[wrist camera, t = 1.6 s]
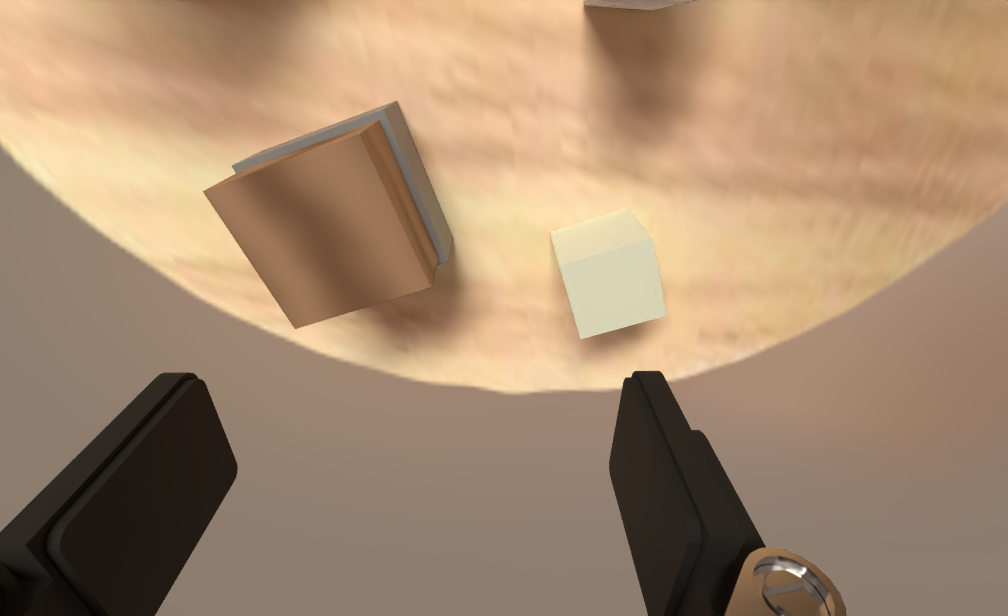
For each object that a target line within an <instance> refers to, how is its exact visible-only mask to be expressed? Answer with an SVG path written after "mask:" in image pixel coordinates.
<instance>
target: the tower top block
mask: <svg viewBox="0 0 1008 616" xmlns="http://www.w3.org/2000/svg"><path fill="white" fill-rule="evenodd" d="M203 193H204V194H205V196H206V197H207V198H208V200H209V201H210V203H211V204H212V206H213V207H214V209H215V210H216V212H217V213H218V215H219V216H220V218H221V219H222V221H223V222H224V224H225V225H226V227H227V228H228V230H229V231H230V233H231V234H232V236H233V237H234V239H235V240H236V242H237V243H238V245H239V246H240V248H241V249H242V251H243V252H244V254H245V255H246V257H247V258H248V260H249V261H250V263H251V264H252V266H253V267H254V269H255V270H256V272H257V273H258V275H259V276H260V277H261V279H262V280H263V282H264V283H265V285H266V286H267V288H268V289H269V291H270V292H271V294H272V295H273V297H274V298H275V300H276V301H277V303H278V304H279V306H280V307H281V309H282V310H283V312H284V313H285V315H286V316H287V318H288V319H289V321H290V322H291V324H292V325H293V327H294V328H295V329H297V328H300V327H303V326H307V325H310V324H313V323H316V322H320V321H323V320H326V319H329V318H333V317H336V316H339V315H343V314H346V313H349V312H352V311H356V310H359V309H362V308H365V307H369V306H372V305H375V304H378V303H382V302H385V301H388V300H391V299H395V298H398V297H401V296H404V295H408V294H411V293H414V292H417V291H421V290H424V289H427V288H430V287H431V285H432V281H433V277H434V273H435V269H436V265H437V261H438V257H439V255H438V253H437V251H436V248H435V246H434V244H433V241H432V239H431V237H430V235H429V232H428V230H427V228H426V225H425V223H424V221H423V219H422V216H421V214H420V212H419V209H418V207H417V205H416V203H415V200H414V198H413V196H412V193H411V191H410V189H409V187H408V184H407V182H406V180H405V177H404V175H403V173H402V171H401V168H400V166H399V164H398V161H397V159H396V157H395V155H394V152H393V150H392V148H391V145H390V143H389V141H388V139H387V136H386V134H385V132H384V129H383V127H382V125H381V123H380V120H377V121H374V122H372V123H369V124H366V125H364V126H361V127H358V128H356V129H353V130H350V131H347V132H345V133H342V134H339V135H337V136H334V137H331V138H328V139H326V140H323V141H320V142H318V143H315V144H312V145H309V146H307V147H304V148H301V149H299V150H296V151H293V152H291V153H288V154H285V155H282V156H280V157H277V158H274V159H272V160H269V161H266V162H263V163H261V164H258V165H255V166H253V167H250V168H247V169H245V170H242V171H240V172H239V173H237V174H235V175H233V176H231V177H229V178H227V179H225V180H223V181H222V182H220V183H218V184H216V185H214V186H212V187H210V188H208V189H206V190H205V191H203Z"/></svg>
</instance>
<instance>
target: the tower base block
mask: <svg viewBox="0 0 1008 616" xmlns="http://www.w3.org/2000/svg"><path fill="white" fill-rule="evenodd" d="M377 120H380V123H381V125H382V127H383V129H384V132H385V134H386V136H387V139H388V141H389V143H390V145H391V148H392V150H393V152H394V155H395V157H396V159H397V161H398V164H399V166H400V168H401V171H402V173H403V175H404V177H405V180H406V182H407V184H408V187H409V189H410V191H411V193H412V196H413V198H414V200H415V203H416V205H417V207H418V209H419V212H420V214H421V216H422V219H423V221H424V223H425V225H426V228H427V230H428V232H429V235H430V237H431V239H432V241H433V244H434V246H435V248H436V251H437V253H438V255H439V257H438V261H437V265H439V264H442V263H445V262H448V261H449V256H450V252H451V247H452V242H453V236H452V234H451V231H450V229H449V227H448V224H447V222H446V219H445V217H444V214H443V212H442V210H441V207H440V205H439V202H438V200H437V197H436V195H435V192H434V190H433V188H432V185H431V183H430V180H429V178H428V175H427V173H426V170H425V168H424V166H423V163H422V161H421V158H420V156H419V153H418V151H417V148H416V146H415V144H414V141H413V139H412V136H411V134H410V131H409V129H408V126H407V124H406V122H405V119H404V117H403V114H402V112H401V109H400V107H399V105H398V102H397V101H395V102H392V103H389V104H387V105H384V106H381V107H379V108H376V109H373V110H371V111H368V112H365V113H362V114H360V115H357V116H354V117H352V118H349V119H346V120H344V121H341V122H338V123H336V124H333V125H330V126H328V127H325V128H322V129H319V130H317V131H314V132H311V133H309V134H306V135H303V136H301V137H298V138H295V139H293V140H290V141H287V142H285V143H282V144H279V145H276V146H274V147H271V148H268V149H266V150H263V151H261V152H259V153H257V154H255V155H253V156H251V157H248V158H246V159H244V160H242V161H240V162H238V163H236V164H234V165H232V167H233V169H234V171H235V172H236V174H237V173H239V172H240V171H242V170H245V169H247V168H250V167H253V166H255V165H258V164H261V163H263V162H266V161H269V160H272V159H274V158H277V157H280V156H282V155H285V154H288V153H291V152H293V151H296V150H299V149H301V148H304V147H307V146H309V145H312V144H315V143H318V142H320V141H323V140H326V139H328V138H331V137H334V136H337V135H339V134H342V133H345V132H347V131H350V130H353V129H356V128H358V127H361V126H364V125H366V124H369V123H372V122H374V121H377Z"/></svg>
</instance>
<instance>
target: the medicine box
mask: <svg viewBox="0 0 1008 616" xmlns="http://www.w3.org/2000/svg"><path fill="white" fill-rule="evenodd" d="M693 1H698V0H584V1H583V4H584V5H587V6H599V7H614V8H626V9H641V10H656V9H660V8H664V7H669V6H673V5H678V4H683V3H688V2H693Z"/></svg>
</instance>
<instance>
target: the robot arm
mask: <svg viewBox="0 0 1008 616" xmlns="http://www.w3.org/2000/svg"><path fill="white" fill-rule="evenodd" d="M609 469H610V476H611V480H612V484H613V488H614V491H615V495H616V499H617V502H618V506H619V510H620V513H621V517H622V520H623V524H624V528H625V532H626V535H627V539H628V543H629V546H630V550H631V554H632V557H633V561H634V565H635V568H636V572H637V576H638V580H639V583H640V587H641V591H642V594H643V598H644V601H645V605H646V609H647V613H648V616H847V615H846V607H845V604H844V602H843V599H842V597H841V594H840V592H839V591H838V590H837V588H836V587H835V585H834V584H833V583H832V581H831V580H830V578H828V577H827V576H826V575H825V574H824V573H823V572H822V571H821V570H820V569H819V568H818V567H817V566H816V565H814V564H813V563H811V562H810V561H808V560H807V559H805V558H804V557H802V556H800V555H798V554H795V553H793V552H791V551H788V550H786V549H780V548H775V547H767V548H766V546H765V545H764V543H763V541H762V539H761V537H760V535H759V534H758V532H757V530H756V528H755V526H754V524H753V522H752V521H751V519H750V517H749V515H748V513H747V511H746V510H745V508H744V506H743V504H742V502H741V500H740V499H739V497H738V495H737V493H736V491H735V489H734V487H733V486H732V484H731V482H730V480H729V478H728V476H727V475H726V473H725V471H724V469H723V467H722V465H721V463H720V462H719V460H718V458H717V456H716V454H715V452H714V450H713V449H712V447H711V445H710V443H709V441H708V439H707V438H706V436H705V435H704V434H703V433H702V432H701V431H700V430H691V428H690V426H689V424H688V422H687V420H686V419H685V417H684V415H683V413H682V411H681V409H680V407H679V405H678V403H677V401H676V399H675V397H674V396H673V394H672V392H671V389H670V387H669V385H668V383H667V381H666V380H665V378H664V376H663V374H662V373H661V372H660V371H635V372H633V374H632V377H631V378H625V379H624V382H623V388H622V393H621V399H620V405H619V411H618V416H617V421H616V427H615V433H614V439H613V444H612V449H611V456H610V462H609ZM236 475H237V462H236V460H235V457H234V455H233V452H232V450H231V447H230V444H229V442H228V439H227V437H226V434H225V432H224V429H223V427H222V424H221V422H220V419H219V417H218V414H217V411H216V409H215V407H214V404H213V401H212V399H211V396H210V394H209V392H208V389H207V386H206V384H205V382H204V381H203V380H201V379H198V377H197V376H196V375H195V374H194V373H162V374H160V375H159V376H158V377H156V378H155V379H154V380H153V381H152V382H151V383H150V384H149V385H148V386H147V387H146V388H145V389H144V390H143V391H142V392H141V393H140V394H139V395H138V396H137V397H136V398H135V399H134V400H133V401H132V402H131V403H130V404H129V405H128V406H127V407H126V408H125V409H124V410H123V411H122V412H121V413H120V414H119V415H118V416H117V417H116V418H115V419H114V420H113V421H112V422H111V423H110V424H109V425H108V426H107V427H106V428H105V429H104V430H103V431H102V432H101V433H100V434H99V435H98V436H97V437H96V438H95V439H94V440H93V441H92V442H91V443H90V444H89V445H88V446H87V447H86V448H85V449H84V450H83V451H82V452H81V453H80V454H79V455H78V456H77V457H76V458H75V459H73V460H72V462H70V464H69V465H67V466H66V467H65V468H64V469H63V471H61V472H60V474H58V476H56V477H55V478H54V479H53V480H52V481H51V482H50V483H49V485H47V486H46V487H45V488H44V489H43V490H42V491H41V492H40V493H39V494H38V495H37V496H36V497H35V498H34V499H33V500H32V501H31V502H30V503H29V504H28V505H27V506H26V507H25V508H24V509H23V510H22V511H21V512H20V513H19V514H18V515H17V516H16V517H15V518H14V519H13V520H12V521H11V522H10V523H9V524H8V525H7V526H6V527H5V528H4V529H3V530H2V531H1V532H0V616H155V614H156V613H157V611H158V609H159V608H160V606H161V604H162V602H163V600H164V599H165V597H166V596H167V594H168V592H169V591H170V589H171V587H172V585H173V584H174V582H175V580H176V579H177V577H178V575H179V574H180V572H181V570H182V569H183V567H184V565H185V563H186V561H187V560H188V558H189V557H190V555H191V553H192V551H193V550H194V548H195V547H196V545H197V543H198V541H199V540H200V538H201V536H202V535H203V533H204V531H205V530H206V528H207V526H208V524H209V523H210V521H211V519H212V518H213V516H214V514H215V513H216V511H217V509H218V508H219V506H220V504H221V503H222V501H223V499H224V497H225V496H226V494H227V492H228V491H229V489H230V487H231V486H232V484H233V482H234V480H235V478H236Z"/></svg>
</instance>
